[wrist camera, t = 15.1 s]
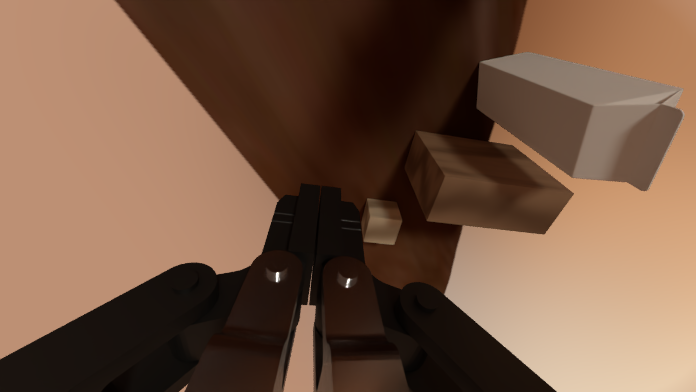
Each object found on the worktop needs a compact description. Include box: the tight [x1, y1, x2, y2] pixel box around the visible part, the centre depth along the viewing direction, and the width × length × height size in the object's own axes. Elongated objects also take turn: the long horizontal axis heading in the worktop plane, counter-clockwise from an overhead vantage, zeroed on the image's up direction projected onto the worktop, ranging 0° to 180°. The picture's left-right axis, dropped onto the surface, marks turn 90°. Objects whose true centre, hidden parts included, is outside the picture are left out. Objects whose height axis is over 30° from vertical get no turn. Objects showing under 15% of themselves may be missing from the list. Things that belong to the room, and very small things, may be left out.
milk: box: [477, 52, 685, 191], centre depth 27 cm, size 6×6×22 cm
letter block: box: [361, 198, 402, 245], centre depth 46 cm, size 5×5×5 cm
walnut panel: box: [404, 131, 574, 234], centre depth 37 cm, size 6×15×13 cm, turn 80°
